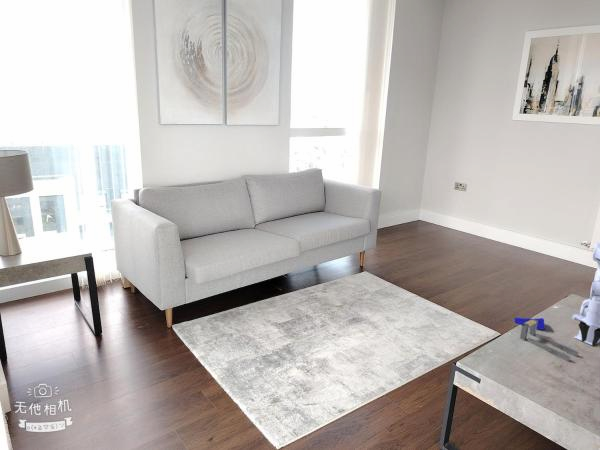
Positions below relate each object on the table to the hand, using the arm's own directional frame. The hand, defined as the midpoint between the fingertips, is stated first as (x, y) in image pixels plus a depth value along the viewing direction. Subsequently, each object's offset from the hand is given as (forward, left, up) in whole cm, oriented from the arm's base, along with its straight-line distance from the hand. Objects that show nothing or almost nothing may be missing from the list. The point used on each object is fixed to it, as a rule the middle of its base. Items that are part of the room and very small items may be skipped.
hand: (588, 342), depth 166 cm
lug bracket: (0, -23, -9) cm, 25 cm away
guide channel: (0, -13, -9) cm, 16 cm away
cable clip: (-9, -27, -7) cm, 29 cm away
